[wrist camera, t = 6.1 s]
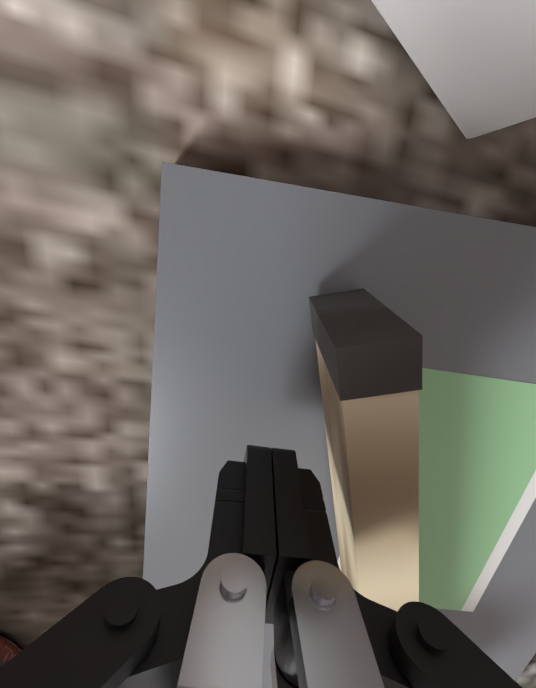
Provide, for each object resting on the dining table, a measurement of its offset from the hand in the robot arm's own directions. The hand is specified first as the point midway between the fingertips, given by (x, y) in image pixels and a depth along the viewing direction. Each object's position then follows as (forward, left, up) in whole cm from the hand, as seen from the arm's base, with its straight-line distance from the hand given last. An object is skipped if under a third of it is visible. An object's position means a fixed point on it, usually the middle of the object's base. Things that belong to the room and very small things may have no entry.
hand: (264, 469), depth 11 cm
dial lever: (+6, +5, -2) cm, 8 cm away
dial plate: (+6, +6, -3) cm, 9 cm away
